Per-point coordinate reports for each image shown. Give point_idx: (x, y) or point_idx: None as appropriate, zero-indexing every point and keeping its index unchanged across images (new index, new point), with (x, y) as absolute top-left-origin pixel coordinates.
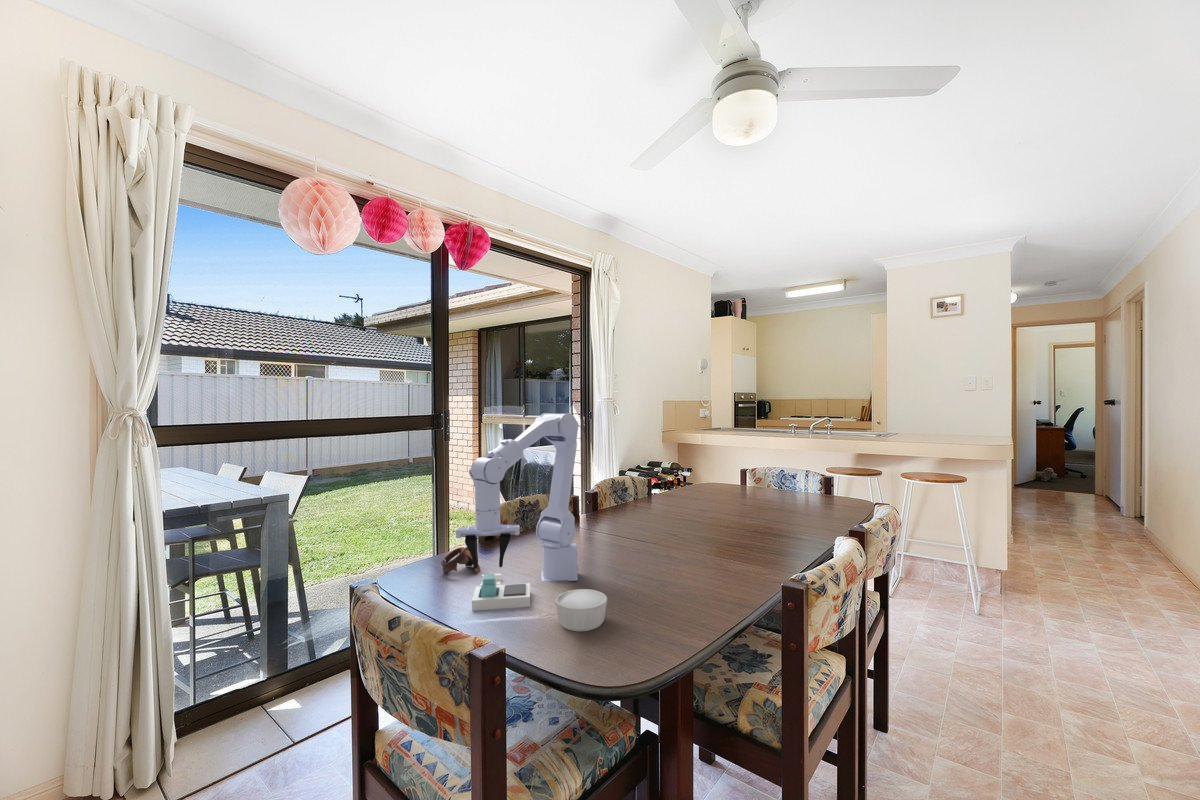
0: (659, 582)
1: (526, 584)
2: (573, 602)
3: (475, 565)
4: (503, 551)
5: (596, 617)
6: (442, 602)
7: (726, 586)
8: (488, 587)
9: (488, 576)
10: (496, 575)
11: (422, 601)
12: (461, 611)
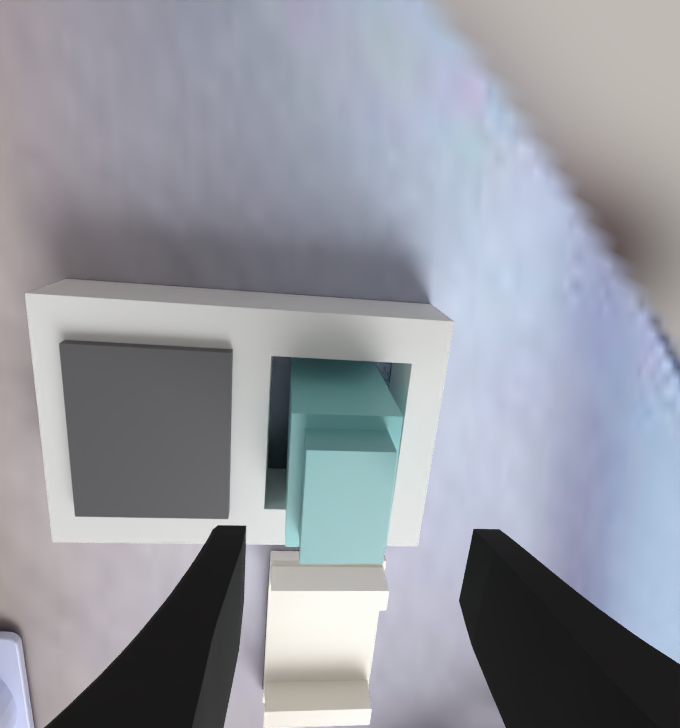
0: None
1: (75, 522)
2: None
3: (506, 545)
4: (139, 660)
5: None
6: (574, 481)
7: None
8: (345, 409)
9: (349, 511)
10: (289, 709)
11: (666, 511)
12: (487, 344)
